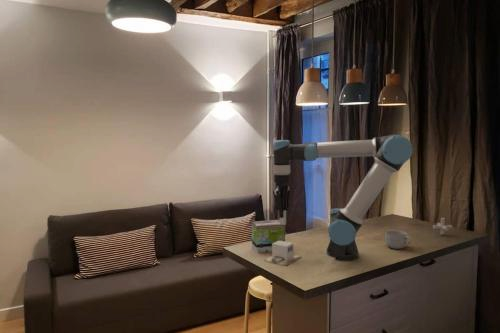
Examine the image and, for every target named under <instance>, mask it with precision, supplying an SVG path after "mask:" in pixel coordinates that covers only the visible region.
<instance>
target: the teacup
mask: <svg viewBox="0 0 500 333" xmlns="http://www.w3.org/2000/svg"><path fill="white" fill-rule="evenodd" d="M384 233H385V234H384V235H385V236H384V239H385V240H384V241H385V244H386V245H387V246H388V247H389V248H390V249H395V250H396V249H397V250H400V249H403V248H404V247H406V246H408V245H410V244H411V242H412V238H411V236H409V235H408V233H407V232H405V231H403V230H394V229H391V230H385V231H384Z"/></svg>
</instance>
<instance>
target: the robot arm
mask: <svg viewBox="0 0 500 333" xmlns="http://www.w3.org/2000/svg"><path fill="white" fill-rule="evenodd" d="M272 152H273V173H274V175H273V182H274V183H275V189H273V190H272V193H273V195H274V196H273V197H274V204H275V208H276V210H277V211H278V212H279V213H278V214H279V220H280V224H282V225H285V226H286V225H287V211H289V207H290V201H291V193H292V188H293V187H292V186H290V185H289V183H290V182H291V161H292V162H304V161H305V162H314V161H316V160H317V159H325V158H326V159H327V158H331V159H332V158H352V157H353V158H354V157H355V158H356V157H359V158H360V157H373V159H374V163H373V164H372V166H371V168H369V170H368V172H367V174H366V176H365V177H364V178H363V180H362V181H361V183H360V185H359V186H358V187H357V189H356V191H354V194H353V195H352V197H351V198H350V199H349V201H348V202H347V204H346V206H344V207H341V208H340V207H339V208H336V207H335V208H331V210H330V212H329V215H330V218H329V225H328V228H327V229H328V230H327V233H328V236H329V242H328V245H327V247H326V255H328V256H329V257H331V258H334V260H336V261H337V260H338V261H353V260H356V259H358V258H359V255H360V254H359V253H360V251H359V249H358V246H357V242H356V236H357V233H358V231H359V230H360V228H361V227H362V225H363V224H364V222H363V218H364V217H365V215H366V213H367V212H368V210H369V209H370V207H371V206H372V204H373V203H374V202H375V200H376V198H378V196H379V194H380V192H382V189H383V188H384V187H385V185H386V184H387V182H388V181H389V179H390V178H391V176H392V175H393V174H394V173H398V172H399V171H400V170H401V168H402V167H403V165H404V164H405V163H406V162H408V160H410V158H411V157H412V156H413V145H412V143H411V141H410V140H409V139H408V137H406V136H404V135H401V134H389V135H385V136H384V135H383V136H375V137H373V138H372V139H362V140H359V139H358V140H341V141H339V140H338V141H337V140H335V141H319V142H309V141H308V142H304V143H300V144H293V143H292V144H291V141H290V139H289V140H288V139H278V140H275V141H274V142H273V150H272Z"/></svg>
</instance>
